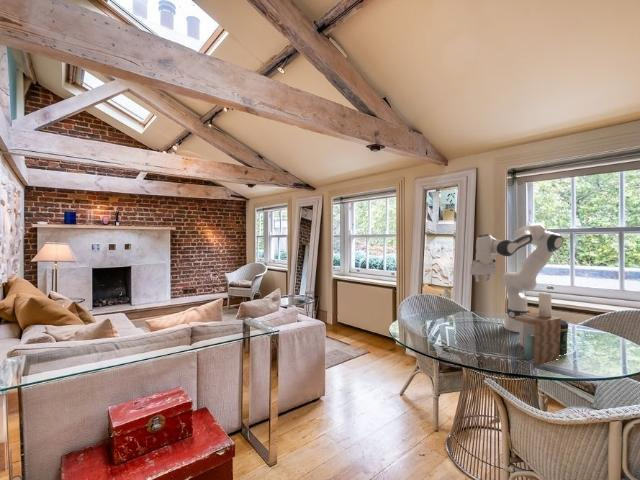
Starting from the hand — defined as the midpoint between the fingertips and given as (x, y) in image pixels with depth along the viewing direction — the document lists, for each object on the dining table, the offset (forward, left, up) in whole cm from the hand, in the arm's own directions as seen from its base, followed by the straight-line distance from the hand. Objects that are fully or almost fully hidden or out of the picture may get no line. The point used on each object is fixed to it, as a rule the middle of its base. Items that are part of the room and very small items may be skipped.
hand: (482, 281), depth 202 cm
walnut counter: (+6, +37, -35) cm, 51 cm away
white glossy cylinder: (+1, +38, -13) cm, 40 cm away
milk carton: (-9, +24, -35) cm, 44 cm away
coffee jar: (-12, +38, -35) cm, 53 cm away
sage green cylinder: (+8, +35, -35) cm, 50 cm away
